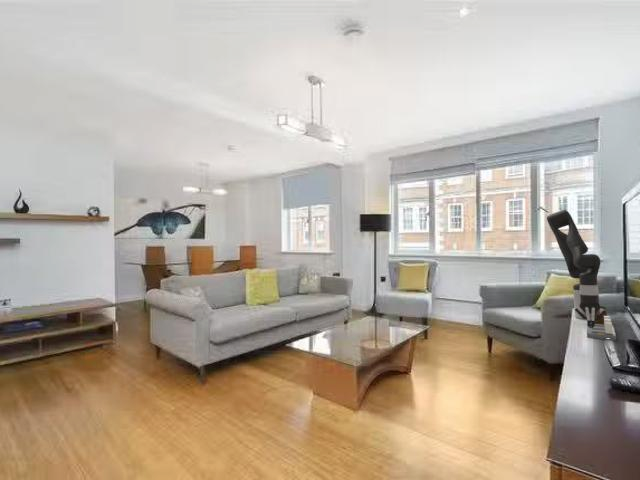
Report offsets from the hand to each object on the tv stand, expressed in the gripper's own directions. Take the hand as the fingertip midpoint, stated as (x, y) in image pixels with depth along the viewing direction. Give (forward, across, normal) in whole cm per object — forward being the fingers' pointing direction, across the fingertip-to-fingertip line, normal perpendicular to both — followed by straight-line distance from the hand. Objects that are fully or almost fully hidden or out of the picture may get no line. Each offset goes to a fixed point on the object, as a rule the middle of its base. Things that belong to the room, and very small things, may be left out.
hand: (591, 327), depth 169 cm
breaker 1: (+2, +7, +16) cm, 17 cm away
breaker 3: (+2, +7, 0) cm, 7 cm away
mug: (+4, +4, +30) cm, 30 cm away
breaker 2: (+2, +7, +8) cm, 11 cm away
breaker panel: (+4, +4, +8) cm, 10 cm away
